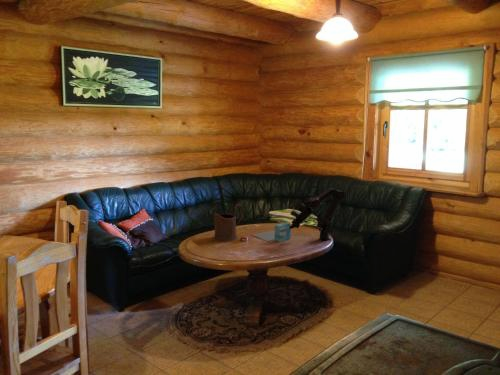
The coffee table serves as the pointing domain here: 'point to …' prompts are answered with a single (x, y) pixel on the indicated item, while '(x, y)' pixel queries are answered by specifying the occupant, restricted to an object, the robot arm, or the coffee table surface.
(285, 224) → the data package
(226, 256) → the coffee table surface
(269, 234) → the slate rubber mat
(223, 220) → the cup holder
